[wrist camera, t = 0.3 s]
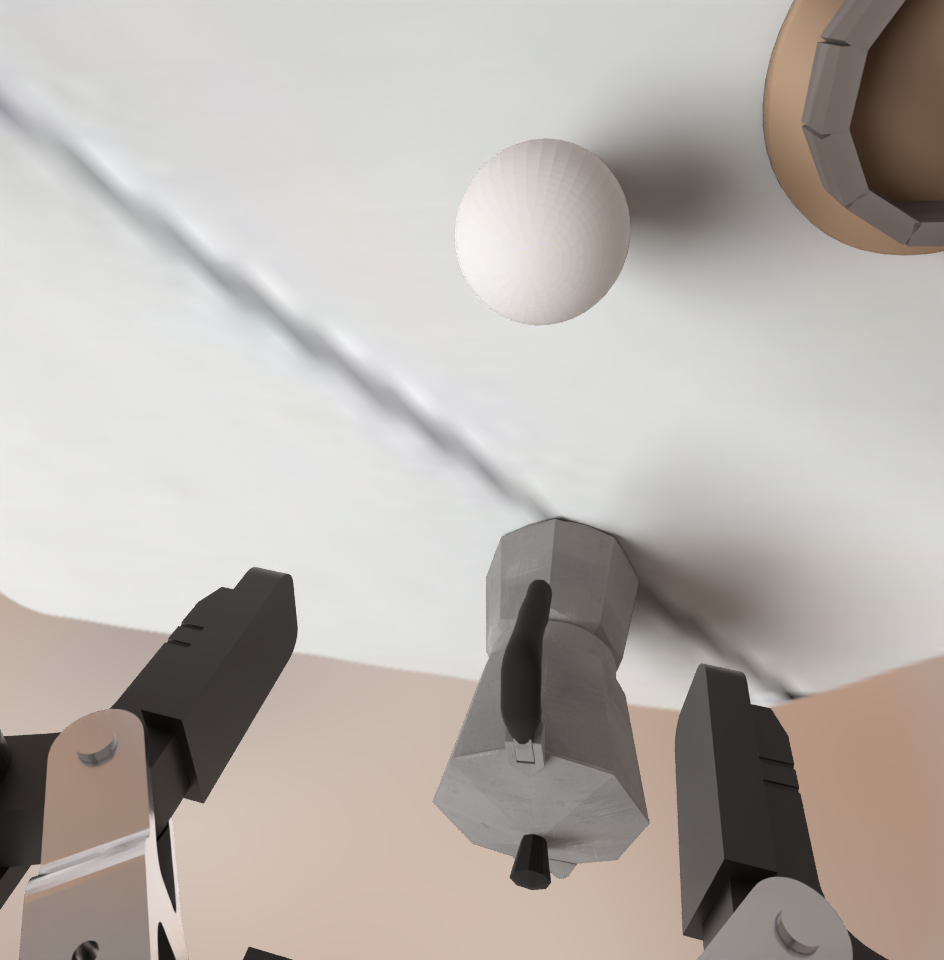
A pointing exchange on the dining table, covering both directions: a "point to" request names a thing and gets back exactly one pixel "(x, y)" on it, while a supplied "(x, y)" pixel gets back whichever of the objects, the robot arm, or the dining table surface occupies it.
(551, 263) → the light bulb
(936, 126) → the lamp base
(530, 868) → the coffeepot
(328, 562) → the dining table surface
